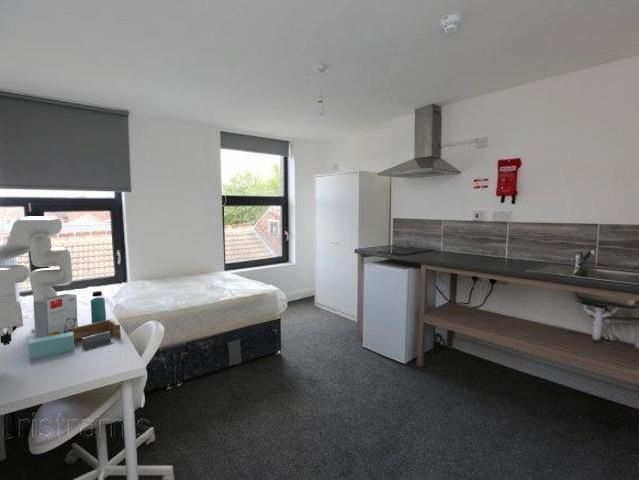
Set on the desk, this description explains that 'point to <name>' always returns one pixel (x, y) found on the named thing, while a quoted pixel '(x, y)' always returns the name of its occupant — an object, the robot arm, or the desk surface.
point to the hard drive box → (55, 315)
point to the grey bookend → (96, 341)
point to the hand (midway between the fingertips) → (6, 343)
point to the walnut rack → (96, 330)
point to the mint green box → (51, 345)
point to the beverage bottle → (98, 308)
